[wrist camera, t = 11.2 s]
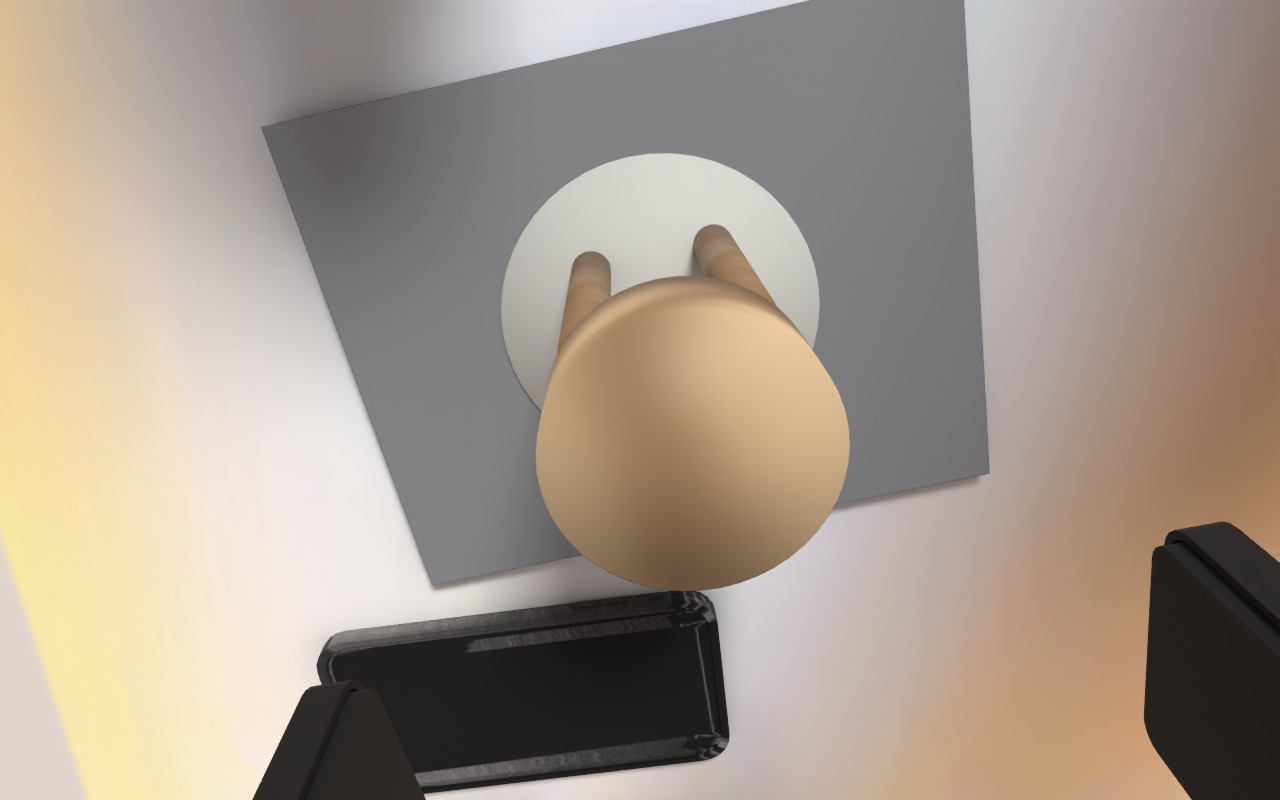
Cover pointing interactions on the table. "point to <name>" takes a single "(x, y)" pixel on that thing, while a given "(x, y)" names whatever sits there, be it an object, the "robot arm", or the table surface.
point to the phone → (545, 688)
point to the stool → (687, 425)
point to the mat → (651, 242)
